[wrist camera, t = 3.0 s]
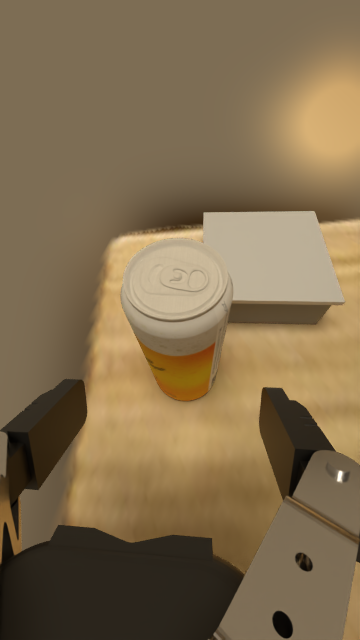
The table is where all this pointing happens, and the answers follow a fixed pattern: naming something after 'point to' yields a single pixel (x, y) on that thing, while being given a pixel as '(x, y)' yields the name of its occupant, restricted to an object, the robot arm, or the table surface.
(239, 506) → the table surface
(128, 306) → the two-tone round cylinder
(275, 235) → the grey square box
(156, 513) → the table surface
